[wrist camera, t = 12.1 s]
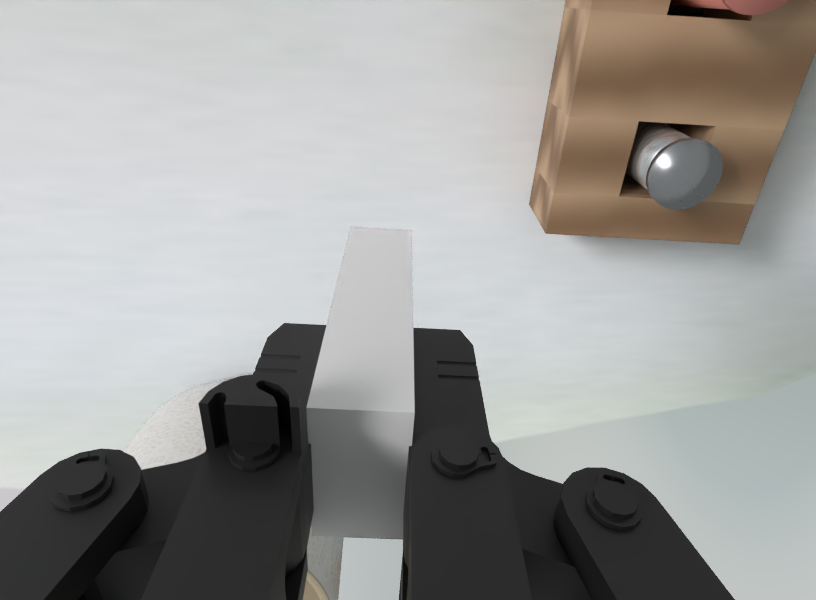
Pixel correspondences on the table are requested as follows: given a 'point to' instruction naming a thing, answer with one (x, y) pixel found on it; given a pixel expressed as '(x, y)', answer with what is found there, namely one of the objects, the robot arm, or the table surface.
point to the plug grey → (673, 165)
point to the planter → (184, 439)
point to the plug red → (734, 5)
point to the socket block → (665, 112)
